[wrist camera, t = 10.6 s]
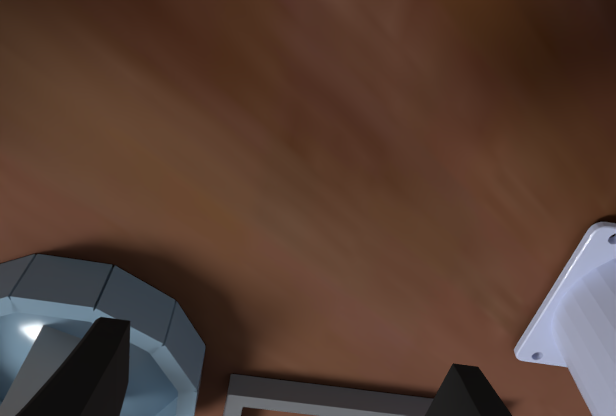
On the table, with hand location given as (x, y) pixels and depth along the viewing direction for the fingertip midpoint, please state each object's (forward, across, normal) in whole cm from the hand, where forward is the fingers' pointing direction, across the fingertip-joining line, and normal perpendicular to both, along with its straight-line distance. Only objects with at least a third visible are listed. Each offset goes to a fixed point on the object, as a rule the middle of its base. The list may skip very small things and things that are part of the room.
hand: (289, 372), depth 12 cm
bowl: (+9, +8, +12) cm, 17 cm away
